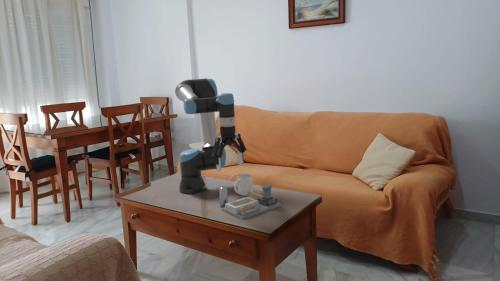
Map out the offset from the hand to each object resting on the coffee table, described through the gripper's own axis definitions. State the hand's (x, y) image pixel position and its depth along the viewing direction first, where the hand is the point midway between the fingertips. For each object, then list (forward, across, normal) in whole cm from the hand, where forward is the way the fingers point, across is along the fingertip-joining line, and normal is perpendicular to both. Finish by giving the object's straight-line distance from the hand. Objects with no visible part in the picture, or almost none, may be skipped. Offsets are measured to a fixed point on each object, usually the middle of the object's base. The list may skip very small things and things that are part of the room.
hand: (230, 167), depth 189 cm
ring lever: (+18, +12, -8) cm, 23 cm away
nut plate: (+20, +4, -10) cm, 23 cm away
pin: (+20, -4, +2) cm, 20 cm away
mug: (+20, +15, +9) cm, 27 cm away
